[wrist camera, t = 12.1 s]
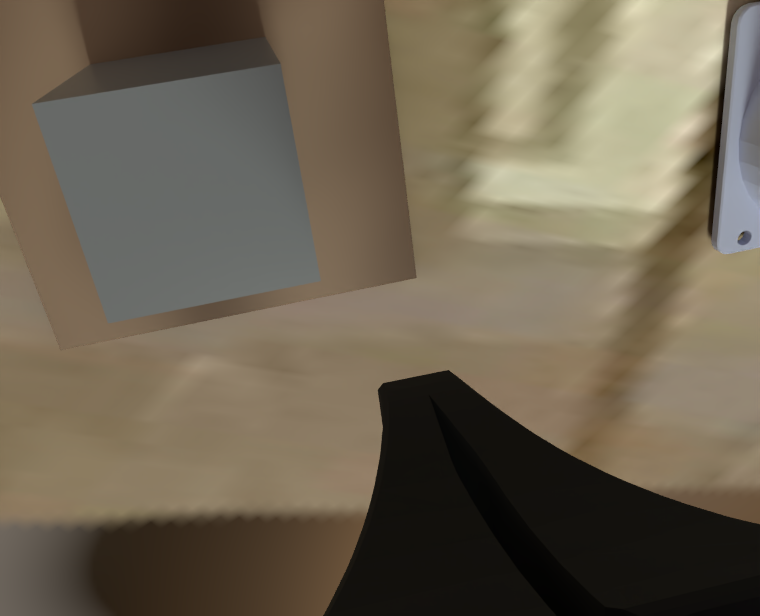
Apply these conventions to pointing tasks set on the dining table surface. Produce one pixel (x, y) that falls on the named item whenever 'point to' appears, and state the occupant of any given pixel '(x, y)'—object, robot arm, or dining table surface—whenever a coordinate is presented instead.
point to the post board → (309, 122)
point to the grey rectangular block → (181, 177)
